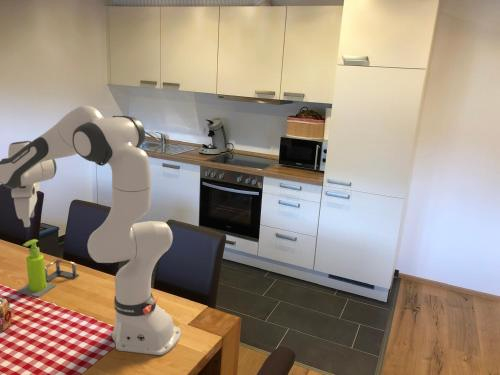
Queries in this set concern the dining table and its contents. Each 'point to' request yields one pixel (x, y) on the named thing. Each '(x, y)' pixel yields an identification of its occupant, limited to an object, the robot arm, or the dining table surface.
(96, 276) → the dining table surface
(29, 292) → the mat
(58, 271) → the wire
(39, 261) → the soap dispenser
